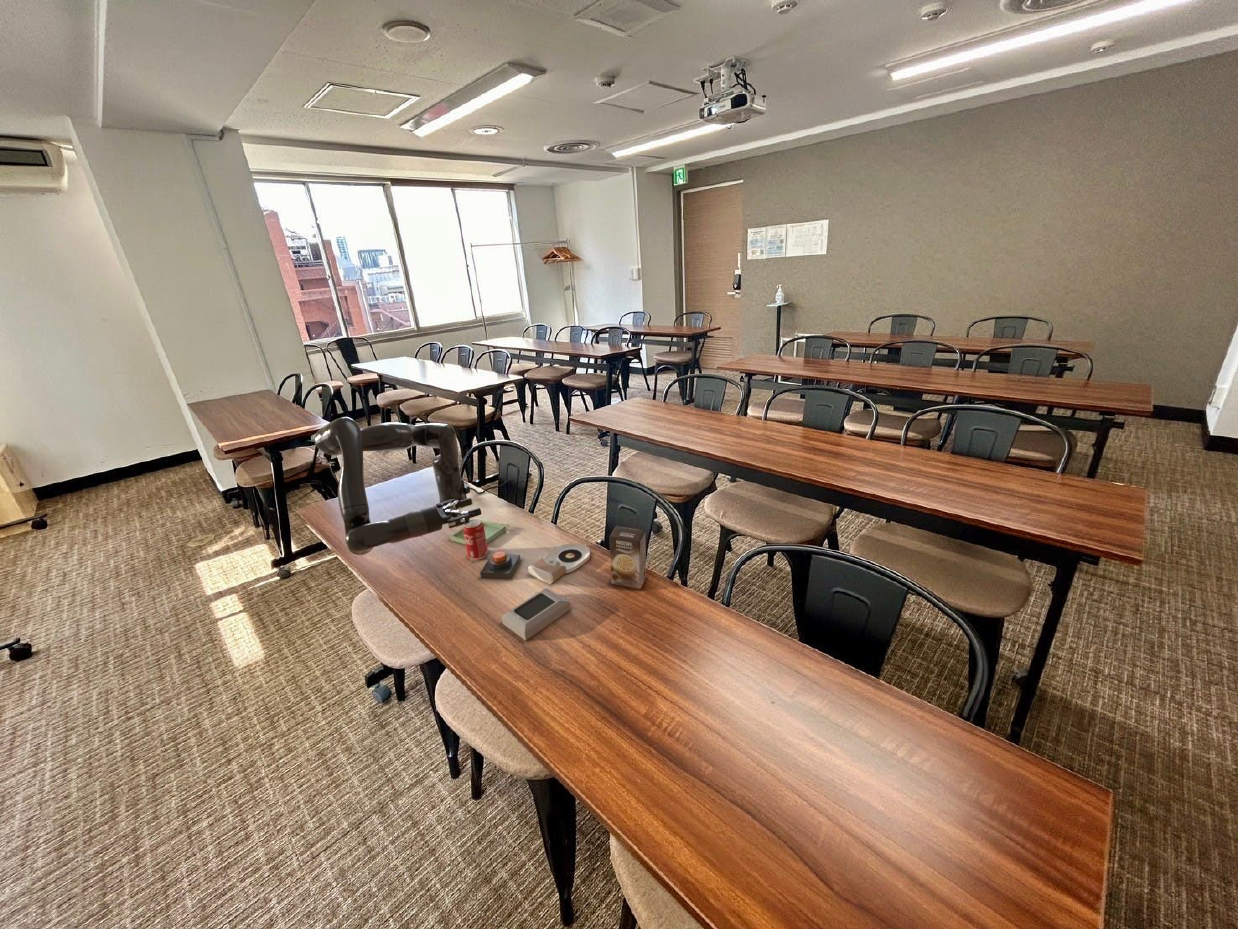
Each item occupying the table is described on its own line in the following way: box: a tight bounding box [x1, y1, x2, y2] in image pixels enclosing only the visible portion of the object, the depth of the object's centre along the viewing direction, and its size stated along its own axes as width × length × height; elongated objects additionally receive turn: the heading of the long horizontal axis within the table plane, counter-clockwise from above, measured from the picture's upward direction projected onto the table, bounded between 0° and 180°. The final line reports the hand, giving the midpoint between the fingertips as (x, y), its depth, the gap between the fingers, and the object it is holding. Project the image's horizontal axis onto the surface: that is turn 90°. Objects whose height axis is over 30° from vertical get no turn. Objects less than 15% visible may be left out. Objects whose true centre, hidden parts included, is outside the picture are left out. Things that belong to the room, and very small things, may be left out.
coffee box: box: [609, 525, 647, 590], centre depth 136 cm, size 9×6×16 cm
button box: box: [479, 552, 521, 581], centre depth 146 cm, size 10×9×4 cm
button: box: [493, 551, 506, 562], centre depth 145 cm, size 4×4×2 cm
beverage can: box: [462, 518, 489, 561], centre depth 152 cm, size 6×6×12 cm
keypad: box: [501, 587, 571, 641], centre depth 125 cm, size 10×4×15 cm
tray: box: [449, 518, 507, 545], centre depth 166 cm, size 13×13×2 cm
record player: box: [527, 542, 591, 585], centre depth 148 cm, size 12×3×20 cm
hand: (476, 505), depth 149 cm, fingers open, 8 cm apart
